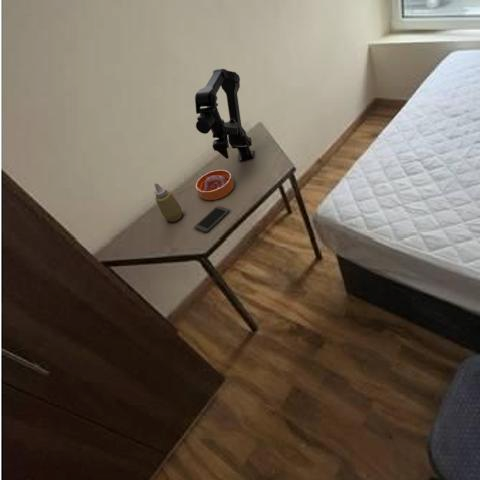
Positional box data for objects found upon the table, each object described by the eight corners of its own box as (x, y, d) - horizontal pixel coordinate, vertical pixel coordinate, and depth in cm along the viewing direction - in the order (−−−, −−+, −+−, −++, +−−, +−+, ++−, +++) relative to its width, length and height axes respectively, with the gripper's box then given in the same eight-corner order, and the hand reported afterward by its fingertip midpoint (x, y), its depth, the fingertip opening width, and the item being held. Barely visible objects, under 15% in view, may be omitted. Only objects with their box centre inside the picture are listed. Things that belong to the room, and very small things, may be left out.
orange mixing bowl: (201, 183, 185) (197, 175, 181) (234, 175, 184) (230, 166, 181) (199, 204, 173) (194, 195, 170) (234, 195, 173) (230, 186, 169)
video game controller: (229, 189, 179) (226, 173, 177) (225, 191, 175) (221, 175, 173) (208, 191, 181) (205, 175, 179) (204, 193, 177) (201, 177, 175)
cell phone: (194, 228, 161) (193, 226, 161) (217, 207, 169) (217, 205, 168) (206, 233, 158) (206, 231, 157) (230, 211, 165) (229, 209, 165)
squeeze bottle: (168, 226, 166) (147, 192, 153) (164, 216, 171) (144, 183, 159) (186, 218, 168) (167, 184, 155) (182, 208, 173) (163, 175, 161)
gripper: (233, 126, 158) (245, 159, 169) (233, 106, 172) (244, 138, 183) (206, 133, 159) (220, 165, 169) (208, 112, 172) (221, 144, 183)
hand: (227, 152), depth 176 cm, fingers open, 9 cm apart
